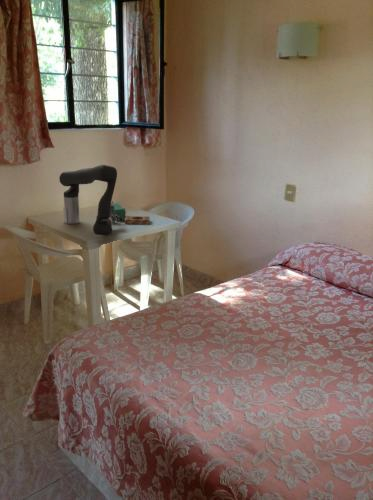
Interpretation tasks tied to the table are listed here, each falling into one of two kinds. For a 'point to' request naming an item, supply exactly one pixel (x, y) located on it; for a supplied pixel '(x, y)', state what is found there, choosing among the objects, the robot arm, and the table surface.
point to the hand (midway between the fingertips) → (109, 215)
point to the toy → (119, 210)
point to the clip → (112, 211)
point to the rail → (137, 220)
